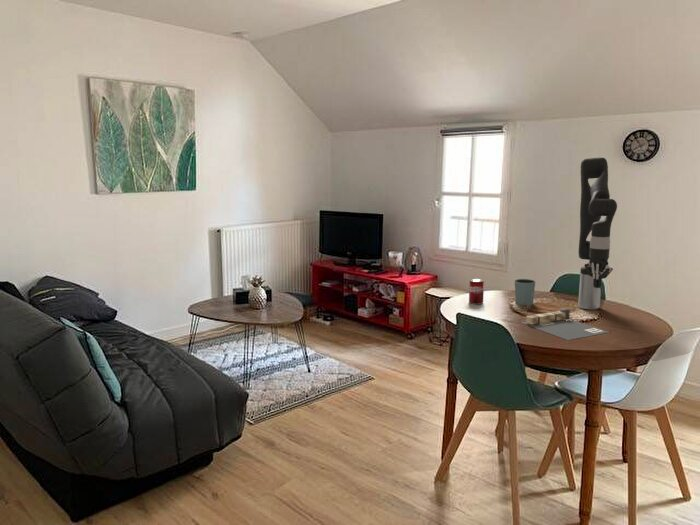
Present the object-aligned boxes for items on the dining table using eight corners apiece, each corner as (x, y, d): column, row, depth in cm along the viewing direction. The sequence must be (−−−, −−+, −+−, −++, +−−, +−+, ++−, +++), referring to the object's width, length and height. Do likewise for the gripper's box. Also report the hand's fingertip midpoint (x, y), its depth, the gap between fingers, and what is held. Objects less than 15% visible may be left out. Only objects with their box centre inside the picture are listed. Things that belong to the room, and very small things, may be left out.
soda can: (483, 305, 274) (484, 282, 272) (468, 304, 276) (469, 281, 274) (482, 301, 281) (483, 279, 279) (468, 301, 283) (469, 278, 281)
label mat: (560, 316, 253) (560, 315, 253) (610, 332, 228) (610, 331, 228) (519, 322, 243) (519, 322, 243) (567, 340, 218) (567, 339, 218)
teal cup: (536, 306, 271) (538, 282, 269) (516, 306, 271) (517, 283, 269) (530, 301, 281) (531, 278, 279) (511, 301, 281) (512, 278, 279)
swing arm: (564, 316, 251) (564, 307, 250) (571, 318, 247) (572, 309, 246) (525, 322, 241) (525, 313, 241) (532, 324, 237) (532, 316, 237)
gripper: (619, 248, 219) (616, 289, 222) (593, 244, 231) (590, 283, 234) (606, 249, 216) (603, 291, 219) (580, 245, 228) (577, 285, 231)
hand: (596, 287), depth 226 cm, fingers closed
